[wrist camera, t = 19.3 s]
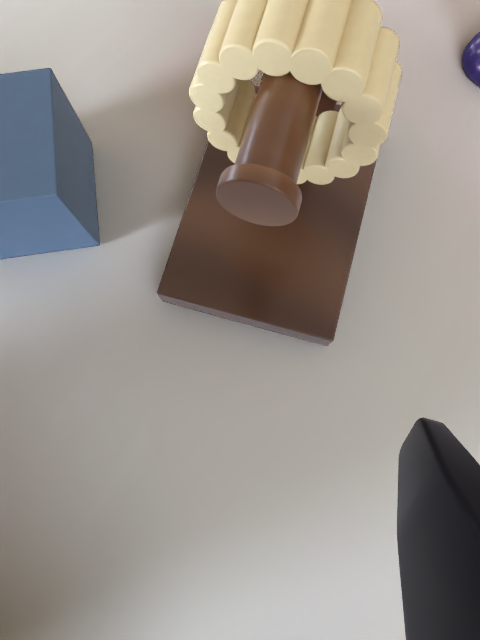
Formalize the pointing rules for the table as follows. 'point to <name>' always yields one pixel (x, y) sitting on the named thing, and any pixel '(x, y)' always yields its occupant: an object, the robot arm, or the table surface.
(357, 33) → the cream fluted ring
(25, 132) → the blue block
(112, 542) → the table surface
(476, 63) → the toy lamp
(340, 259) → the stand
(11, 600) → the table surface
